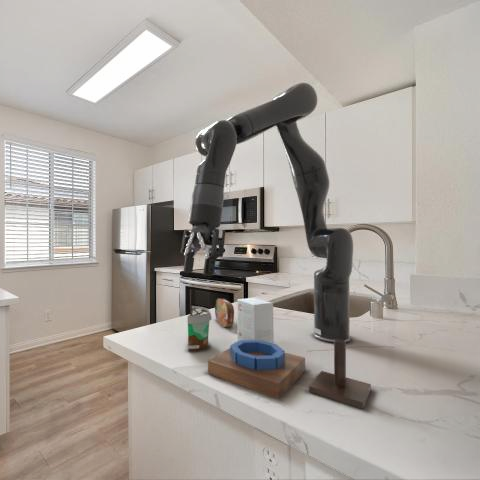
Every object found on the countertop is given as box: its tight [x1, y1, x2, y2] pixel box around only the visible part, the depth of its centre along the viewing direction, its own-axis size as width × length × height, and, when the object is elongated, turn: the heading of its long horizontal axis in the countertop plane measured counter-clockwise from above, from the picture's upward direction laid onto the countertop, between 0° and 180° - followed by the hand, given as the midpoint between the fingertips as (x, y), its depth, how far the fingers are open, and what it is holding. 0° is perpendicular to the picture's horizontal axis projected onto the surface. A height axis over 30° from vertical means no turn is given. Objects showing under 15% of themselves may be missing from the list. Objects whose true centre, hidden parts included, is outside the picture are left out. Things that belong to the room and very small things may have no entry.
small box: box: [236, 297, 275, 344], centre depth 83 cm, size 8×6×13 cm
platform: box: [207, 347, 306, 400], centre depth 68 cm, size 16×16×3 cm
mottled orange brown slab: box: [214, 297, 235, 328], centre depth 106 cm, size 15×3×8 cm, turn 5°
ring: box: [229, 340, 286, 370], centre depth 68 cm, size 11×11×2 cm
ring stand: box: [308, 339, 372, 410], centre depth 60 cm, size 9×9×10 cm
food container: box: [187, 305, 212, 353], centre depth 85 cm, size 12×6×10 cm, turn 168°
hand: (197, 273), depth 70 cm, fingers open, 8 cm apart
